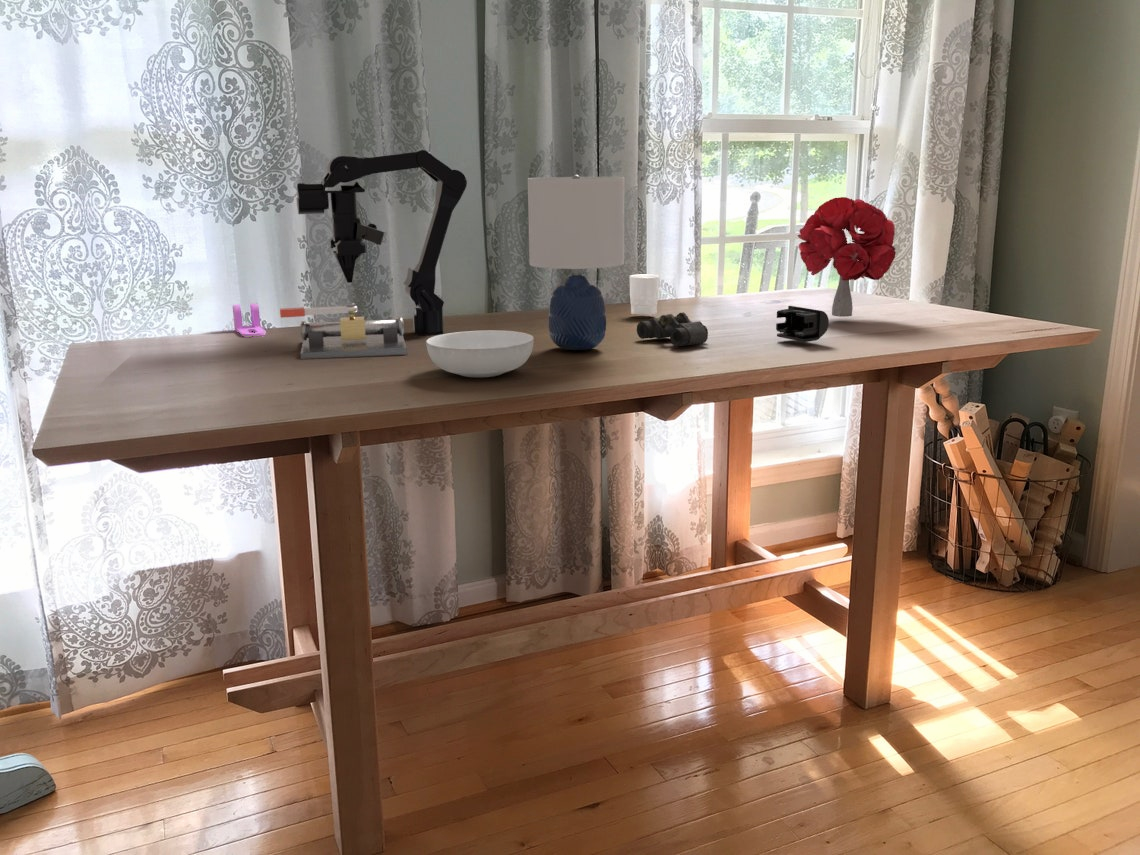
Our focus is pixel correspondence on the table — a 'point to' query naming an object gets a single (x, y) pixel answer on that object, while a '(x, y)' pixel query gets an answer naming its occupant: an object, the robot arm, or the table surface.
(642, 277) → the white cup
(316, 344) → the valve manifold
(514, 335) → the serving bowl
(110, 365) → the table surface
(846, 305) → the bouquet
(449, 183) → the robot arm
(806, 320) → the end cap
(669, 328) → the binoculars
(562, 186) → the lamp
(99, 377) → the table surface
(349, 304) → the lever
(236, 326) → the bracket
